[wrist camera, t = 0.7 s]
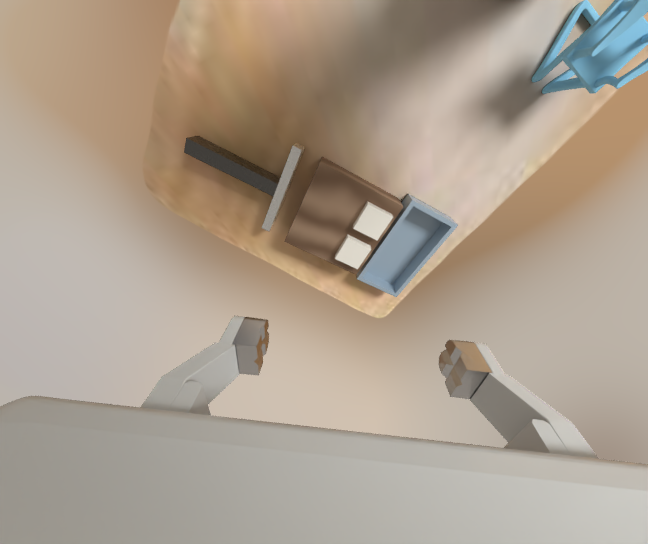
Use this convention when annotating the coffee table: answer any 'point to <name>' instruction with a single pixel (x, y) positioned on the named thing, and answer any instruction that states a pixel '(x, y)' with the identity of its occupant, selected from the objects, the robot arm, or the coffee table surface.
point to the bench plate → (336, 212)
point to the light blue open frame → (599, 47)
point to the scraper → (248, 171)
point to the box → (406, 246)
